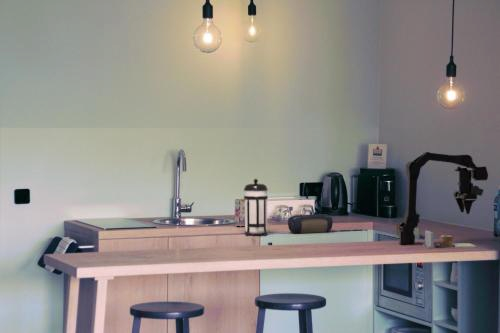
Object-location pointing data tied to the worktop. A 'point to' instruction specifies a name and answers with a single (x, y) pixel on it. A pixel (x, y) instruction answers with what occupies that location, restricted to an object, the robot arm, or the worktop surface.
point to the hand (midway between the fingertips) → (465, 213)
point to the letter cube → (446, 241)
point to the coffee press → (255, 208)
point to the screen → (429, 239)
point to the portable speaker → (310, 223)
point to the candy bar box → (239, 210)
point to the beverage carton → (416, 231)
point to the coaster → (463, 245)
